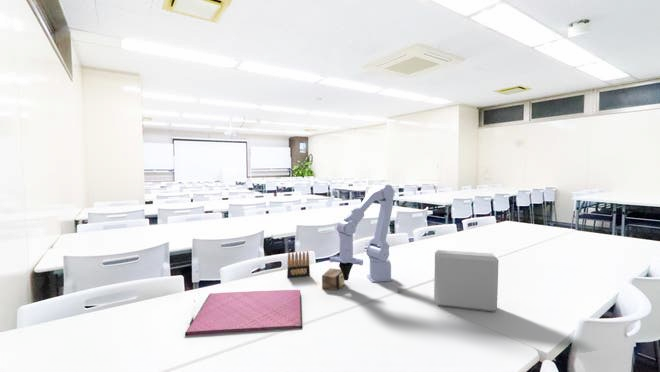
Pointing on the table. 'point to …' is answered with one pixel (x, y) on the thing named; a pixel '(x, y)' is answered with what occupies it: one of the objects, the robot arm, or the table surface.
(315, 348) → the table surface
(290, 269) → the ammunition clip
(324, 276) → the collar block
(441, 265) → the bevelled white case
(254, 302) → the laptop bag
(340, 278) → the peg
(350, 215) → the robot arm
